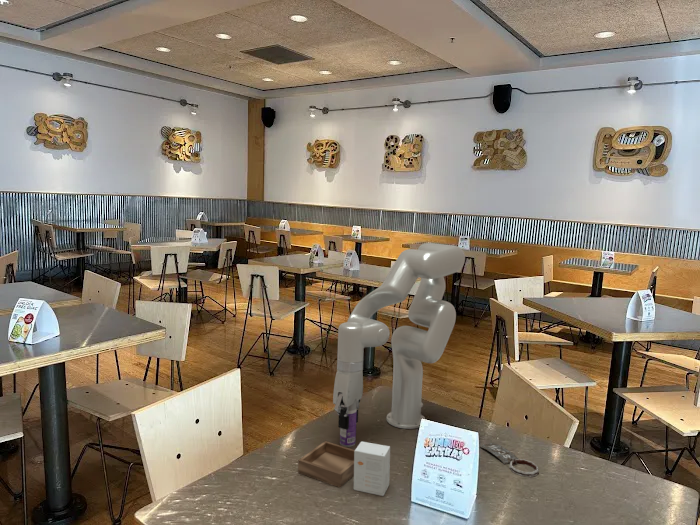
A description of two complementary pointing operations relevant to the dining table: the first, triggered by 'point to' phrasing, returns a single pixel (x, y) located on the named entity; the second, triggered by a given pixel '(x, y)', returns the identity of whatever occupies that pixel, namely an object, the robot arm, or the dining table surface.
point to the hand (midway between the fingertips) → (348, 424)
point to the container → (350, 434)
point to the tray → (328, 464)
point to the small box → (371, 468)
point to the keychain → (510, 459)
